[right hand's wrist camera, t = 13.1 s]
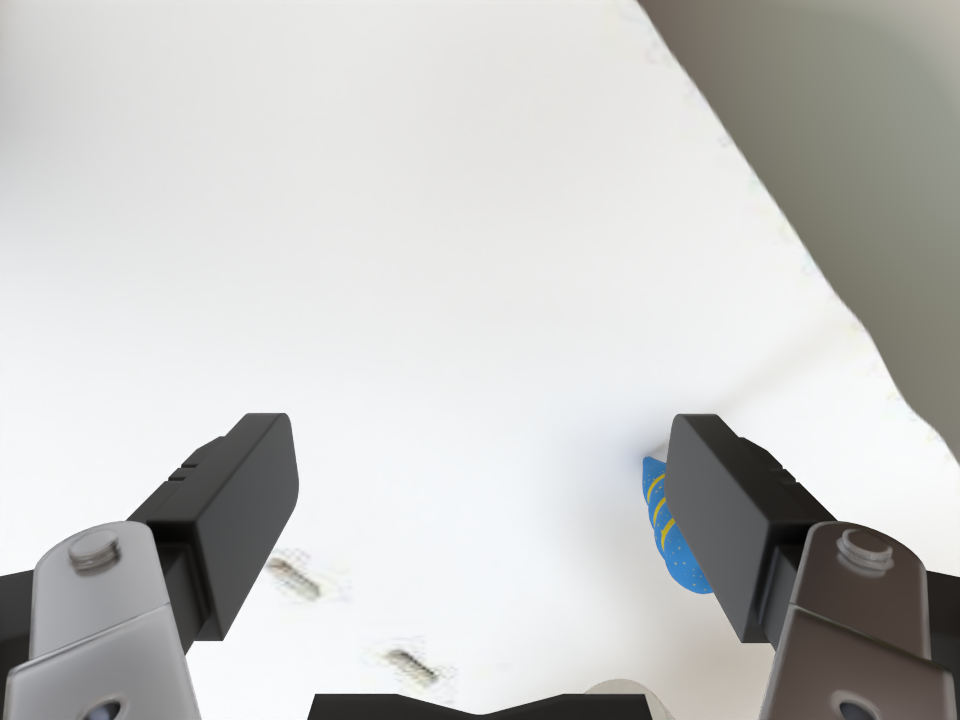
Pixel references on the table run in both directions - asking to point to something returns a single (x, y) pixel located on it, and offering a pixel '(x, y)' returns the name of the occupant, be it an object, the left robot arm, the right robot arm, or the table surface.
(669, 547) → the ornament
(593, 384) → the table surface
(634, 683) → the cylinder
